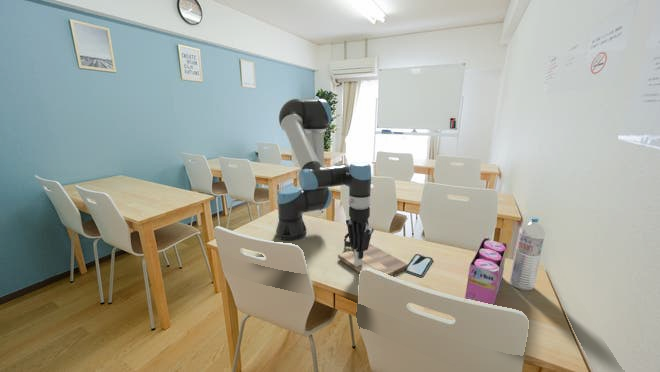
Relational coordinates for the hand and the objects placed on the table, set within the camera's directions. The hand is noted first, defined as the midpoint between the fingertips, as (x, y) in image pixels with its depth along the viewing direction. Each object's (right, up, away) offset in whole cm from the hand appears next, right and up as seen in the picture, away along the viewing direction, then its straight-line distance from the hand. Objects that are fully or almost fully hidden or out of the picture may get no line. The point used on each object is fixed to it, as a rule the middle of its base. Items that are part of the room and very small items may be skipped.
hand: (358, 264), depth 103 cm
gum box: (+42, -5, -10) cm, 44 cm away
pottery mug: (+1, +3, +20) cm, 20 cm away
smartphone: (+24, -2, +4) cm, 25 cm away
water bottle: (+56, -5, -9) cm, 57 cm away
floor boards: (+10, 0, +8) cm, 13 cm away
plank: (+3, -1, +3) cm, 4 cm away
